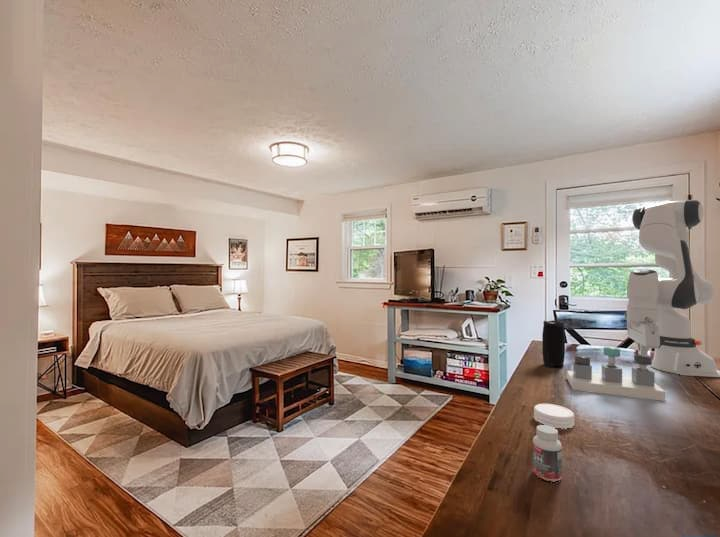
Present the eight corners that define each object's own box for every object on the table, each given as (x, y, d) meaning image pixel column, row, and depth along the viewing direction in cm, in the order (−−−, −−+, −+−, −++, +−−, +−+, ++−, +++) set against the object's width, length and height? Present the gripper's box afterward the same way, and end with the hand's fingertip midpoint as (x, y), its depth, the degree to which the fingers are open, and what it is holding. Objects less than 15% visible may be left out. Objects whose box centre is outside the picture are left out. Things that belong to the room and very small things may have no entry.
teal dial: (618, 364, 127) (618, 346, 127) (621, 368, 123) (621, 349, 123) (602, 363, 129) (602, 345, 129) (605, 366, 125) (605, 348, 125)
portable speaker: (554, 362, 161) (554, 319, 161) (569, 368, 151) (570, 322, 151) (537, 363, 159) (537, 320, 159) (552, 369, 150) (552, 323, 150)
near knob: (648, 373, 124) (648, 355, 124) (653, 377, 119) (654, 358, 119) (632, 371, 125) (632, 353, 125) (636, 375, 121) (636, 357, 121)
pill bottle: (529, 476, 73) (529, 429, 73) (536, 465, 77) (536, 420, 77) (558, 487, 69) (559, 437, 69) (564, 475, 73) (564, 428, 73)
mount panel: (649, 387, 127) (649, 365, 127) (665, 400, 114) (665, 376, 114) (567, 378, 138) (567, 358, 137) (572, 389, 125) (572, 367, 125)
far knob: (588, 372, 131) (588, 355, 131) (591, 376, 126) (591, 359, 126) (573, 371, 133) (573, 354, 133) (575, 374, 128) (575, 357, 128)
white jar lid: (525, 418, 102) (525, 405, 102) (550, 412, 105) (550, 400, 105) (557, 433, 92) (557, 419, 92) (582, 426, 96) (582, 413, 96)
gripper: (666, 320, 111) (666, 364, 111) (644, 313, 130) (644, 350, 130) (641, 319, 114) (641, 362, 114) (623, 312, 133) (623, 349, 133)
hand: (642, 356), depth 122 cm, fingers closed, pressing on near knob
